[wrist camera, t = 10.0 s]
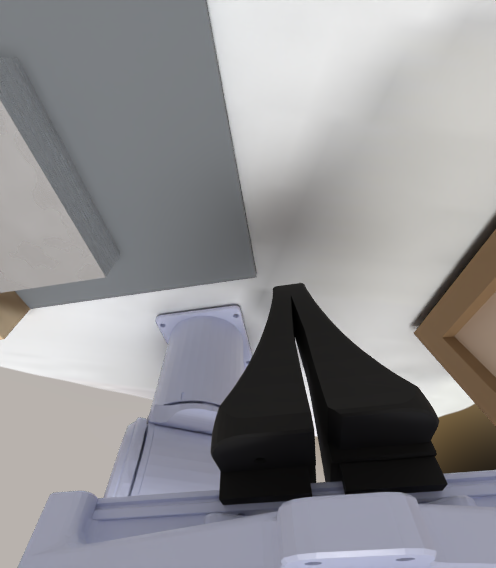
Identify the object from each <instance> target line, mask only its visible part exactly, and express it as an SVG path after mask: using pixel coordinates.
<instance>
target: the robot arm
mask: <svg viewBox="0 0 496 568" xmlns="http://www.w3.org/2000/svg"><path fill="white" fill-rule="evenodd" d="M234 314H238V315H234ZM156 323H157V325H158V327H159V329H160V331H161V333H162V335H163V337H164V338H165V340H166V342H167V344H168V347H167V351H166V354H165V358H164V362H163V366H162V369H161V373H160V377H159V381H158V384H157V388H156V392H155V396H154V399H153V403H152V407H151V411H150V414H149V416H148V418H147V420H146V418H137V420H136V421H135V422H133V423H131V424H130V425H128V427H127V429H126V432H125V435H124V437H123V440H122V443H121V446H120V449H119V452H118V455H117V457H116V461H115V463H114V467H113V470H112V473H111V476H110V479H109V482H108V485H107V488H106V491H105V494H104V498H97V497H96V496H95V495H94V494H92V493H90V492H87V491H69V492H55V493H52V494H50V496H49V498H48V500H47V503H46V505H45V507H44V509H43V511H42V514H41V516H40V518H39V520H38V523H37V525H36V527H35V529H34V532H33V534H32V536H31V538H30V541H29V543H28V545H27V547H26V549H25V552H24V554H23V556H22V558H21V561H20V563H19V565H18V567H17V568H496V470H491V471H476V472H462V473H448V474H443V473H442V471H441V469H440V467H439V464H438V462H437V460H436V458H435V456H436V450H435V448H434V446H433V444H432V442H431V439H432V436H433V435H434V433H435V431H436V429H437V427H438V424H439V419H438V417H437V415H436V413H435V411H434V409H433V407H432V406H431V404H430V403H429V401H428V400H427V399H426V397H425V396H424V394H423V393H422V392H421V390H420V389H419V388H418V387H417V386H415V385H414V384H412V383H410V382H408V381H407V380H405V379H403V378H402V377H400V376H398V375H397V374H395V373H393V372H392V371H390V370H389V369H387V368H386V367H384V366H383V365H381V364H380V363H379V362H377V361H376V360H375V359H373V358H372V357H371V356H369V355H368V354H367V353H365V352H364V351H363V350H361V349H360V348H359V347H358V346H357V345H355V344H354V343H353V342H352V341H351V340H350V339H349V338H348V337H346V336H345V335H344V334H343V333H342V332H341V331H340V330H339V329H338V328H337V327H336V326H335V325H334V324H333V323H332V321H331V320H330V319H329V318H328V317H327V316H326V315H325V313H324V312H323V311H322V310H321V309H320V307H319V306H318V305H317V304H316V302H315V301H314V299H313V298H312V297H311V295H310V294H309V292H308V290H307V289H306V287H305V285H304V284H303V283H298V284H291V285H283V286H276V287H274V288H273V299H272V304H271V309H270V313H269V316H268V320H267V323H266V326H265V329H264V332H263V334H262V337H261V339H260V342H259V344H258V346H257V348H256V350H255V353H254V354H253V356H252V353H251V349H250V345H249V341H248V337H247V333H246V329H245V325H244V321H243V317H242V313H241V309H240V307H238V306H226V307H219V308H211V309H204V310H196V311H189V312H181V313H173V314H166V315H159V316H157V318H156ZM162 323H163V324H162ZM295 338H296V342H297V346H298V349H299V353H300V356H301V360H302V363H303V367H304V370H305V374H306V377H307V382H308V386H309V391H310V396H311V402H312V407H313V413H314V418H315V424H316V429H317V435H318V441H319V446H320V451H321V458H322V464H323V469H324V476H325V482H323V483H316V469H315V465H316V457H315V436H314V427H313V421H312V416H311V411H310V407H309V403H308V399H307V394H306V390H305V386H304V381H303V377H302V372H301V368H300V363H299V358H298V353H297V349H296V344H295Z"/></svg>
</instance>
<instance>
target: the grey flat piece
mask: <svg viewBox="0 0 496 568" xmlns="http://www.w3.org/2000/svg"><path fill="white" fill-rule="evenodd" d="M119 256H120V252H119V250H118V248H117V246H116V244H115V242H114V240H113V238H112V236H111V235H110V233H109V231H108V229H107V227H106V225H105V223H104V221H103V219H102V217H101V215H100V213H99V212H98V210H97V208H96V206H95V204H94V202H93V200H92V198H91V196H90V194H89V192H88V190H87V189H86V187H85V185H84V183H83V181H82V179H81V177H80V175H79V173H78V171H77V169H76V167H75V166H74V164H73V162H72V160H71V158H70V156H69V154H68V152H67V150H66V148H65V146H64V145H63V143H62V141H61V139H60V137H59V135H58V133H57V131H56V129H55V127H54V125H53V123H52V122H51V120H50V118H49V116H48V114H47V112H46V110H45V108H44V106H43V104H42V102H41V100H40V99H39V97H38V95H37V93H36V91H35V89H34V87H33V85H32V83H31V81H30V79H29V77H28V76H27V74H26V72H25V70H24V68H23V66H22V64H21V62H20V60H19V58H0V293H3V292H10V291H17V290H24V289H30V288H37V287H44V286H51V285H58V284H64V283H71V282H78V281H85V280H92V279H99V278H105V277H106V276H107V275H108V273H109V272H110V270H111V269H112V267H113V265H114V264H115V262H116V261H117V259H118V258H119Z"/></svg>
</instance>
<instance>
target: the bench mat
mask: <svg viewBox="0 0 496 568" xmlns="http://www.w3.org/2000/svg"><path fill="white" fill-rule="evenodd" d="M0 58H19V60H20V62H21V64H22V66H23V68H24V70H25V72H26V74H27V76H28V77H29V79H30V81H31V83H32V85H33V87H34V89H35V91H36V93H37V95H38V97H39V99H40V100H41V102H42V104H43V106H44V108H45V110H46V112H47V114H48V116H49V118H50V120H51V122H52V123H53V125H54V127H55V129H56V131H57V133H58V135H59V137H60V139H61V141H62V143H63V145H64V146H65V148H66V150H67V152H68V154H69V156H70V158H71V160H72V162H73V164H74V166H75V167H76V169H77V171H78V173H79V175H80V177H81V179H82V181H83V183H84V185H85V187H86V189H87V190H88V192H89V194H90V196H91V198H92V200H93V202H94V204H95V206H96V208H97V210H98V212H99V213H100V215H101V217H102V219H103V221H104V223H105V225H106V227H107V229H108V231H109V233H110V235H111V236H112V238H113V240H114V242H115V244H116V246H117V248H118V250H119V252H120V256H119V258H118V259H117V261H116V262H115V264H114V265H113V267H112V269H111V270H110V272H109V273H108V275H107V276H106V277H105V278H99V279H92V280H85V281H78V282H71V283H64V284H58V285H51V286H44V287H37V288H30V289H24V290H17V291H15V292H16V293H17V294H18V296H19V297H20V298H21V299H22V300H23V301H24V302H25V303H26V305H27V306H28V307H29V308H30V309H33V308H40V307H47V306H55V305H62V304H69V303H76V302H83V301H90V300H97V299H105V298H112V297H119V296H126V295H133V294H140V293H147V292H155V291H162V290H169V289H176V288H183V287H190V286H197V285H204V284H212V283H219V282H226V281H233V280H240V279H247V278H254V277H256V269H255V264H254V258H253V253H252V248H251V242H250V237H249V231H248V226H247V220H246V215H245V209H244V204H243V199H242V193H241V188H240V182H239V177H238V171H237V166H236V160H235V155H234V150H233V144H232V139H231V133H230V128H229V122H228V117H227V111H226V106H225V101H224V95H223V90H222V84H221V79H220V73H219V68H218V62H217V57H216V52H215V46H214V41H213V35H212V30H211V24H210V19H209V13H208V8H207V3H206V0H0Z"/></svg>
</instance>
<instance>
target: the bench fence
mask: <svg viewBox="0 0 496 568" xmlns="http://www.w3.org/2000/svg"><path fill="white" fill-rule="evenodd" d="M29 310H30V308H29V307H28V306H27V305H26V303H25V302H24V301H23V300H22V299H21V298H20V297H19V296H18V294H17V293H16V292H15V291H10V292H3V293H0V340H2V339H5V338H6V337H7V335H8V334H9V333H10V332H11V331H12V330H13V328H14V327H15V326H16V325H17V324H18V323H19V321H20V320H21V319H22V318H23V317H24V316H25V314H26V313H27V312H28V311H29Z"/></svg>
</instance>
